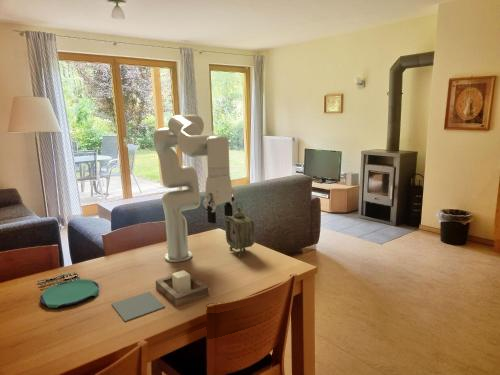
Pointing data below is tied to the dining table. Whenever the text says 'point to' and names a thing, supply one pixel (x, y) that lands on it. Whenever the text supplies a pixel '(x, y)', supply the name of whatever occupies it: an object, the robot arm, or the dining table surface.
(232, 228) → the grey lantern
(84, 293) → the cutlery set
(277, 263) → the dining table surface
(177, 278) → the cream block
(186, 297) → the pocket block
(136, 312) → the rubber mat
